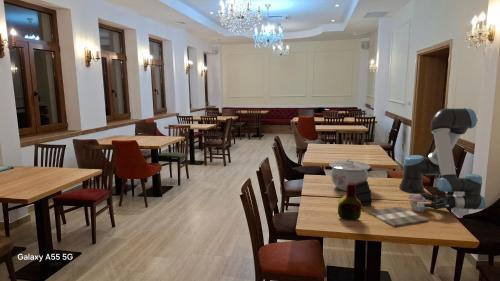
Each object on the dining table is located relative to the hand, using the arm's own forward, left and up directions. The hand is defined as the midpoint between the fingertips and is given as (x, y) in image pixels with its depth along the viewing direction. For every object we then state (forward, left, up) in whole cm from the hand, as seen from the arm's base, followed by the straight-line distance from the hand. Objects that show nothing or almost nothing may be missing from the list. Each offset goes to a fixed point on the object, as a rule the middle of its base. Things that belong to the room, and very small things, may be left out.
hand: (412, 200), depth 186 cm
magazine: (+22, -18, -6) cm, 29 cm away
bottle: (+41, -1, -6) cm, 42 cm away
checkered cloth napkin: (+15, +5, -6) cm, 17 cm away
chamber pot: (+10, -47, -6) cm, 48 cm away
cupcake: (-3, +1, -6) cm, 7 cm away
